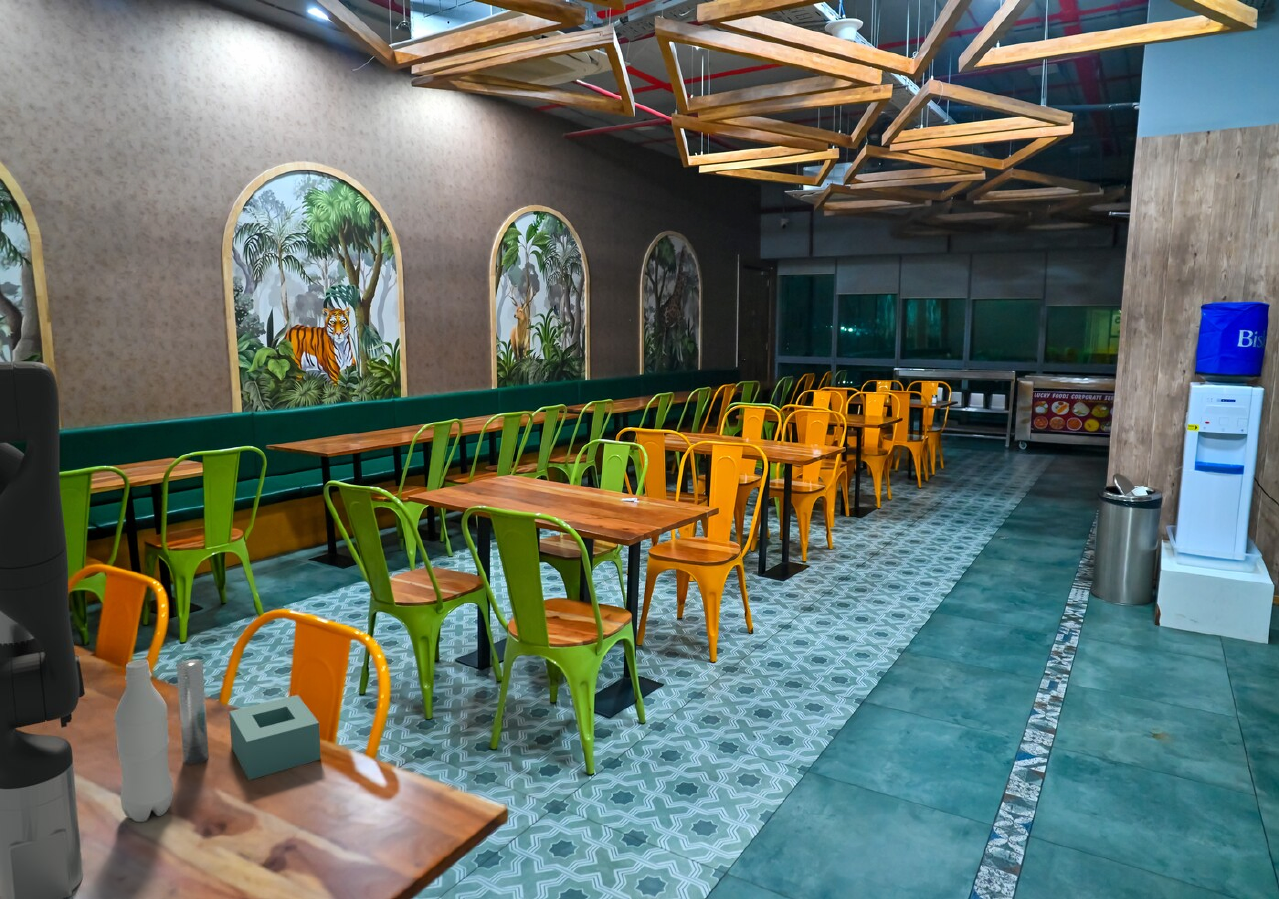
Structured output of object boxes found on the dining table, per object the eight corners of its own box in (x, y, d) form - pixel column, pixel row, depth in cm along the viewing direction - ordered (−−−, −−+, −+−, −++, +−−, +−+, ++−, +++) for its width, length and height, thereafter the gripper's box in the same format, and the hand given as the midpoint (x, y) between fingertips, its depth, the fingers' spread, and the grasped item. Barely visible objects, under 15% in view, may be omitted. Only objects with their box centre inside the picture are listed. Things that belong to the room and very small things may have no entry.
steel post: (210, 760, 148) (204, 664, 145) (185, 767, 145) (178, 670, 143) (206, 751, 151) (200, 657, 148) (181, 757, 148) (175, 662, 146)
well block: (320, 759, 148) (319, 722, 147) (248, 780, 141) (246, 741, 140) (299, 729, 159) (297, 694, 158) (231, 747, 152) (229, 711, 151)
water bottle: (112, 817, 130) (99, 667, 126) (156, 795, 136) (146, 651, 133) (139, 830, 127) (127, 676, 123) (184, 807, 133) (173, 660, 129)
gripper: (-47, 651, 111) (-34, 759, 114) (80, 629, 120) (88, 731, 123) (-45, 631, 117) (-33, 735, 120) (76, 611, 126) (84, 709, 129)
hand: (28, 732), depth 122 cm, fingers open, 8 cm apart
